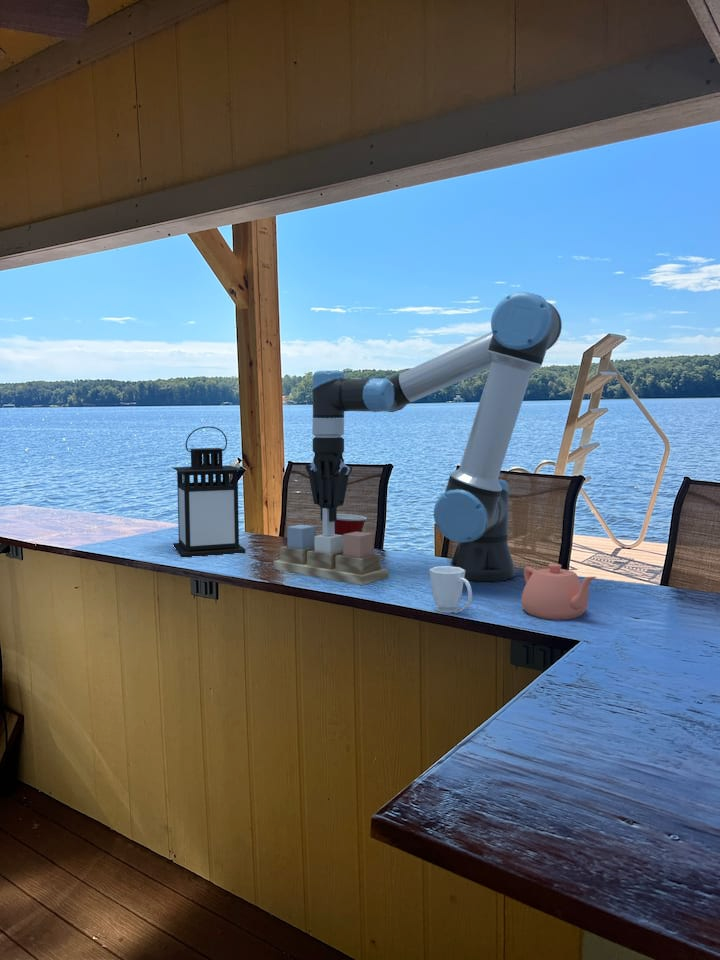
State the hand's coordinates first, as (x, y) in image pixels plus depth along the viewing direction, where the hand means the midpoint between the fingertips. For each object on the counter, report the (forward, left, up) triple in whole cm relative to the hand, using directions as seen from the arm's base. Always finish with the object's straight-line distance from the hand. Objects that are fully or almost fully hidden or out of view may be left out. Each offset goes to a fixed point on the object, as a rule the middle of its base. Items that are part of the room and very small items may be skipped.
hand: (328, 534), depth 177 cm
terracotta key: (-9, 0, -5) cm, 10 cm away
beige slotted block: (0, 0, -9) cm, 9 cm away
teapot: (-58, 0, -10) cm, 59 cm away
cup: (-42, +11, -10) cm, 44 cm away
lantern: (+47, -2, -10) cm, 48 cm away
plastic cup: (+7, -15, -10) cm, 19 cm away
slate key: (+9, 0, -5) cm, 10 cm away
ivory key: (0, 0, -6) cm, 6 cm away
